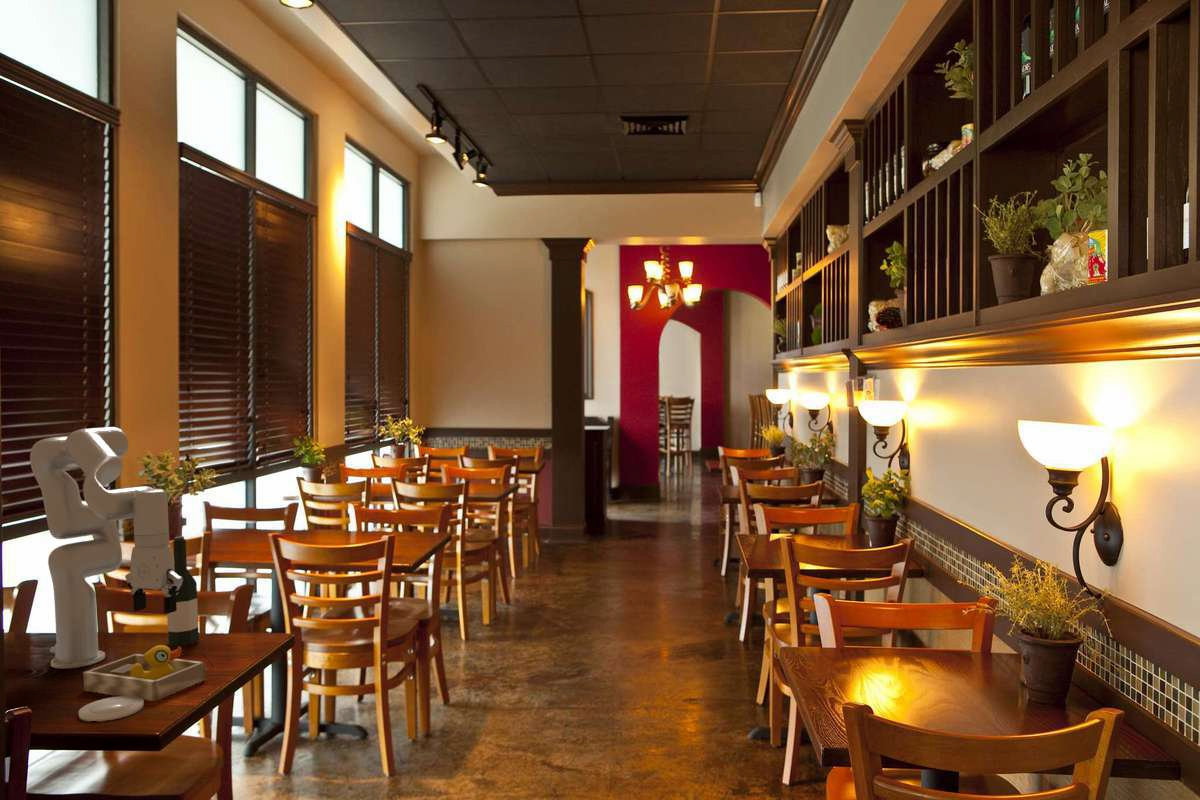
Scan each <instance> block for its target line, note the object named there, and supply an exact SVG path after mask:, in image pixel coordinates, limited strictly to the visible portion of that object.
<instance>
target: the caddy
mask: <svg viewBox="0 0 1200 800" xmlns="http://www.w3.org/2000/svg"><path fill="white" fill-rule="evenodd" d="M136 663H139V664H141V666H142V668H143V670H144V671H150V670H151V669H152V668H153V666H150V665H149V663H148V662H147V661H146V660H145V658H144V654H141V653H134V654H131V655H129V656H125V657H122V658H120V659H117V660H114V661H111V662H108V663H106V664H103V665H100V666H97V667H94V668H91V669H90V670H85V671H83V672H82V674H83V691H84V692H90V691H91V693H96V692H97V694H102V693H103V694H104V695H109V694H110V696H115V697H118V696H137V697H141V698H142V699H143V700H144V701H151V702H157V701H160V700H162V698H163V699H164V697H165V698H167V697H169V695H170V696H172V695H174V694H177V693H179V692H181V691H184V690H185V688H186V689H188V688H187V687H189V688H191V687H193V686H195V685H194V684H196V683H198V684H200V683H202V682H201V681H203V682H205V681H206V670H205V669H206V667H205V666H206V665H205V664H206V662H204V661H199V660H189V659H182V658H181V659H180V658H176V659H174V660H169V662H168V664H169V665H170V666H171V667H172V668H173V673H172V674H170V675H167V676H165V677H162V678H160V679H157V680H149V679H141V678H134V677H127V676H120V675H112V674H109V672H110V671H112V670H114V669H117V668H119V667H122V666H124V665H126V664H136ZM204 680H205V681H204ZM199 682H200V683H199ZM192 685H193V686H192ZM196 685H197V684H196ZM190 686H191V687H190ZM183 689H184V690H183ZM180 690H181V691H180ZM178 691H179V692H178ZM176 692H177V693H176ZM103 694H102V695H103ZM171 694H172V695H171ZM117 695H118V696H117ZM166 696H167V697H166Z"/></svg>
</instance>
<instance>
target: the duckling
mask: <svg viewBox="0 0 1200 800" xmlns="http://www.w3.org/2000/svg"><path fill="white" fill-rule="evenodd" d="M143 655H144V658H145V660H146V661H147V662H148V663H149V665H150V666H153V668H152V669H151V670H150V671H144V670H143V668H142V666H141V664H139V663H136V664H134V665H133V666H132V668H131V670H130V676H131V677H134V678H141V679H149V680H157V679H160V678H162V677H165V676H167V675H170V674H172V673H173V668H172V667H171V666H170V665H169V664H168V662H169V660H174V659H179V657H181V656H180V655H182V647H176V649H174V650H171V649H170V646H167V645H165V644H164V645H163V644H159V645H155V646H153V647H152V648H150V649H149V650H148V651H147V652H145V653H144V654H143Z"/></svg>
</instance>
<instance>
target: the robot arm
mask: <svg viewBox="0 0 1200 800" xmlns="http://www.w3.org/2000/svg"><path fill="white" fill-rule="evenodd" d="M128 450H129V439H128V437H127V435H126V433H125V432H124V431H123V430H122V429H121V428H119V427H115V426H105V427H103V426H102V427H101V426H100V427H89V428H81V429H77V430H74V431H72V432H71V433H69V434H68V435H63V436H62V435H61V436H54V437H48V438H43V439H40V440H39V441H36V442H35V443H34V444H33V446H32V447H31V450H30V453H29V454H30V455H29V461H30V462H29V463H30V466H31V470H32V472H33V473H32V474H33V475H34V478H35V479H36V482H37V483H38V486H39V489H40V490H41V494H42V500H43V505H44V506H43V507H44V511H45V517H46V522H47V526H48V530H49V534H50V535H51V536H52V537H53V538H54V539H57V540H68V539H74V538H75V539H76V538H81V537H87V536H92V537H93V539H90V540H89V539H88V540H82V541H78V542H77V541H76V542H71V543H66V544H63V545H60V546H58V547H55V548H54V549H52V551H51V552H50V553H49V555H48V557H47V558H48V561H47V562H48V563H47V565H48V569H49V574H50V577H51V581H52V587H53V599H54V600H53V601H54V617H55V620H54V621H55V639H56V643H55V645H54V646H52V647H50V648H49V653H53V654H54V655H55V657H54V658H52V659H51V660H50V666H51V667H52V668H54V669H60V670H61V669H77V668H81V667H82V668H83V667H86V666H87V667H88V666H91V665H94V664H97V663H99V662H101V661H103V660H104V659H105V658H106V652H104V651H102V650H99V638H98V637H99V636H98V617H97V616H98V615H97V614H98V613H97V597H96V592H95V590H94V588H93V587H92V585H90V584H89V583H88V582H87V580H86V578H89V577H93V576H99V575H103V574H108V573H112V572H115V571H117V570H118V569H119V568H120V567H121V565H122V562H123V552H122V551H123V550H122V545H121V540H120V535H119V530H118V529H119V528H118V524H117V521H123V520H128V519H133V533H134V534H133V535H134V536H133V540H134V546H133V547H132V549H131V556H130V564H129V567H130V568H129V569H130V570H129V572H128V573H127V574H126V575H124V578H125V581H126V583H127V587H128V588H129V590H130V594H131V595H132V599H133V601H132V602H133V611H134V612H139V611H141V610H144V609H147V594H146V593H147V592H146V591H145V590H151V591H152V590H153V591H158V590H161V591H162V593H163V594H164V597H163V613H164V615H167V614H169V613H172V612H175V611H176V610H177V607H176V595H177V594H178V591H179V590H180V589H181V584H182V582H183V578H182V577H180V576H179V575H177V574H176V573H175V569H174V554H173V551H172V547H171V545H170V529H169V527H170V526H169V525H170V524H169V509H168V508H169V507H168V494H167V491H166V490H164V489H163V488H153V487H151V486H148V485H147V486H145V485H143V486H141V485H140V486H139V485H138V486H132V487H124V488H116V489H109V490H107V489H106V488H104V487H105V486H108V485H109V484H110V483H112V482H114V481H115V480H116V479H118V477H119V476H120V475H121V474H122V472H123V469H124V463H123V460H122V459H121V458H122V457H124V456H125V455H126V454H127V453H128ZM72 468H79V469H80V470H81V471H82V472H83V473H84V474H85V478H84V481H83V485H82V492H83V498H84V500H83V499H82V497H81V494H80V488H79V484H78V483H77V481H76V480H75V479H74V478H73V476H71V475H70V473H68V472H66V471H65V470H63V469H72ZM167 588H169V589H170V590H168V589H167Z"/></svg>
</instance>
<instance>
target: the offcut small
mask: <svg viewBox="0 0 1200 800" xmlns="http://www.w3.org/2000/svg"><path fill="white" fill-rule="evenodd" d="M133 665H134V664H126V665H124V666H122V667H119V668H117V669H114V670H112V671H110V672H109V674H112V675H120V676H127V677H131V676H130V670H131V668H132V666H133Z"/></svg>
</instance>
